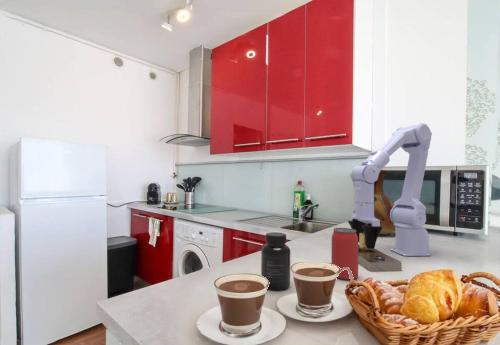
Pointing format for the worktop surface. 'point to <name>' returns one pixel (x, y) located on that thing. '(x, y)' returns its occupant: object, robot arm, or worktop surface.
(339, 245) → the beer can
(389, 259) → the door strike plate
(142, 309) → the worktop surface
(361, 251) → the brass pin
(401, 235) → the robot arm
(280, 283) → the supplement bottle
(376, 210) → the ceramic pitcher
